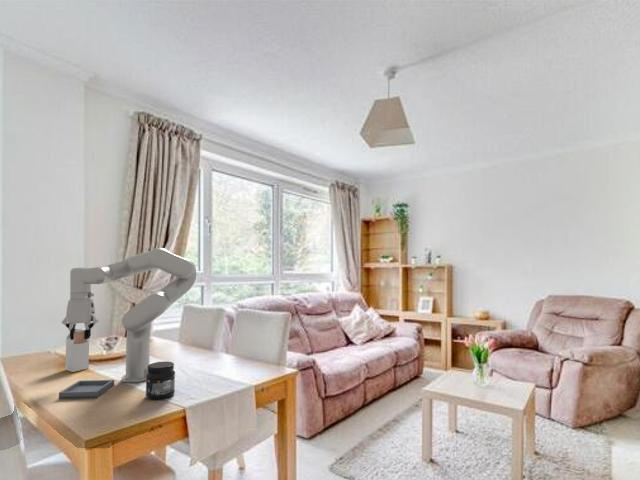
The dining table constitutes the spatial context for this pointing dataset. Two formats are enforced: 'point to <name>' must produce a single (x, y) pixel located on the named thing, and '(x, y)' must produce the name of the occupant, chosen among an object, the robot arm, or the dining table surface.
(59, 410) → the dining table surface
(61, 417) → the dining table surface
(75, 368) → the milk carton
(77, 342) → the salt shaker
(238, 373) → the dining table surface
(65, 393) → the tray
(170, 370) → the supplement container
